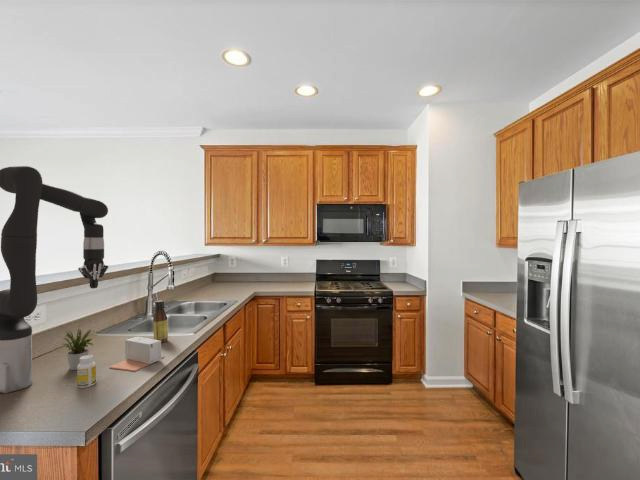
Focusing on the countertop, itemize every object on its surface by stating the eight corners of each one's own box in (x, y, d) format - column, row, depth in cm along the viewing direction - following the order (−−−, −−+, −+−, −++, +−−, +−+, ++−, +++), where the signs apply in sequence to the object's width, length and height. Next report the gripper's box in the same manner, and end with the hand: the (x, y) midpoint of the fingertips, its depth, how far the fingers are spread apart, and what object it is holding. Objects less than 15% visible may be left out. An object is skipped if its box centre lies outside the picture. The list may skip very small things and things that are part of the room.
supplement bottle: (92, 380, 123) (92, 353, 122) (98, 384, 119) (98, 356, 119) (75, 385, 118) (75, 357, 118) (80, 389, 115) (80, 360, 115)
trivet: (134, 371, 130) (134, 370, 130) (109, 368, 134) (109, 366, 134) (164, 357, 146) (164, 356, 146) (140, 354, 149) (140, 353, 149)
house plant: (47, 378, 124) (47, 333, 123) (53, 366, 135) (53, 324, 135) (94, 371, 131) (94, 328, 131) (96, 359, 143) (96, 320, 142)
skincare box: (136, 354, 148) (162, 360, 142) (123, 359, 142) (149, 365, 136) (136, 335, 147) (162, 340, 142) (124, 339, 142) (150, 344, 136)
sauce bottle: (170, 339, 171) (170, 299, 170) (163, 343, 164) (163, 302, 164) (157, 339, 171) (157, 299, 171) (150, 343, 165) (150, 301, 165)
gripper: (86, 248, 140) (86, 290, 140) (113, 247, 153) (113, 286, 153) (72, 248, 142) (72, 290, 142) (100, 247, 155) (100, 285, 155)
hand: (93, 288), depth 148 cm, fingers closed
